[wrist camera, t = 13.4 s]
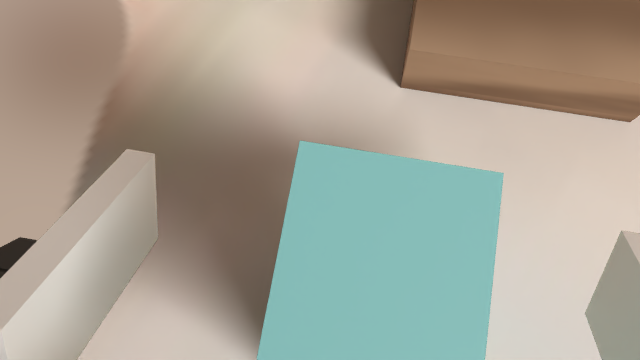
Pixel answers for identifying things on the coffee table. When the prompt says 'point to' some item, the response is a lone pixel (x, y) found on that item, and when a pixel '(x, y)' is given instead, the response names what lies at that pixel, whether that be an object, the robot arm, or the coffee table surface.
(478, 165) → the coffee table surface
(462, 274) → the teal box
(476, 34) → the walnut box
